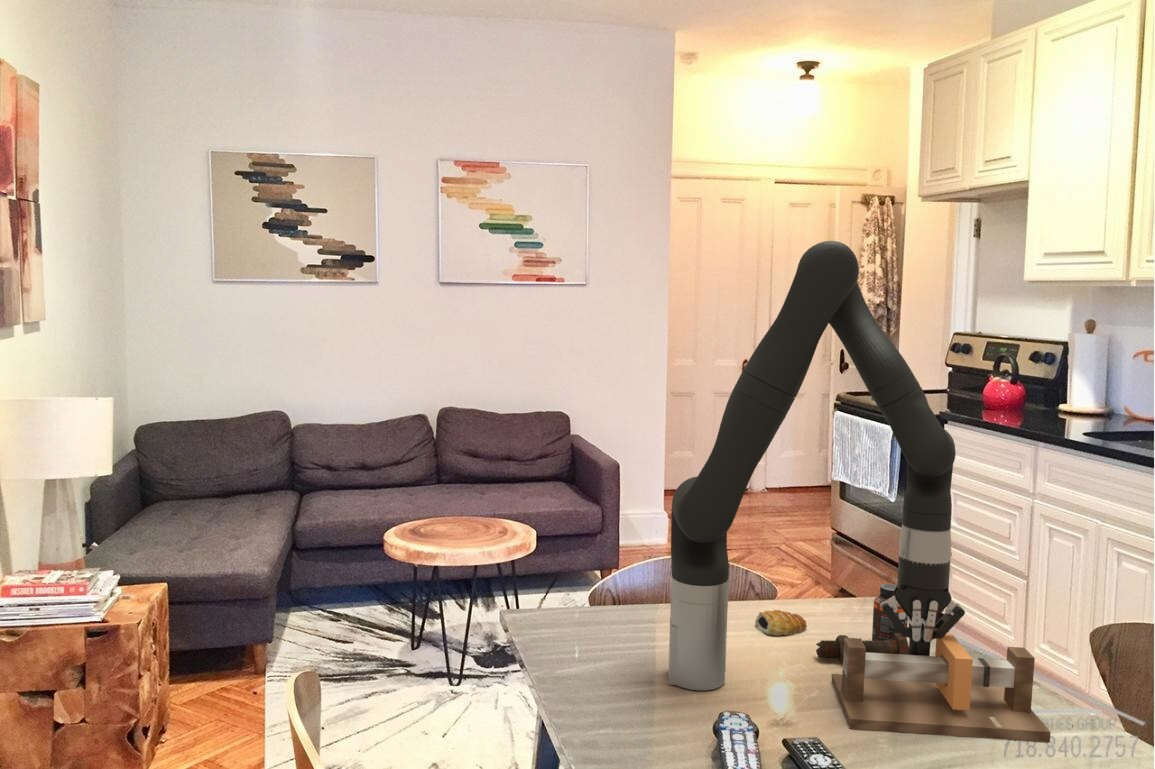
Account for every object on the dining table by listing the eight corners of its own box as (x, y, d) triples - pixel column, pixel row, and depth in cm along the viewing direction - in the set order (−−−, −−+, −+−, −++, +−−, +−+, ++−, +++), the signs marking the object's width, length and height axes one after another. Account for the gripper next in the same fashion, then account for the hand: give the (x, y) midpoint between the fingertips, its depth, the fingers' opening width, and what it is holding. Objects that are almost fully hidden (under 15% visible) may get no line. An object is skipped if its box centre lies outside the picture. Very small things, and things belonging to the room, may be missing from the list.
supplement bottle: (910, 654, 162) (914, 592, 161) (877, 653, 162) (880, 591, 161) (899, 641, 168) (903, 581, 167) (867, 640, 168) (870, 581, 167)
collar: (952, 709, 135) (955, 658, 134) (933, 680, 145) (936, 633, 144) (969, 710, 135) (972, 659, 134) (949, 681, 144) (952, 634, 144)
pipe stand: (849, 728, 134) (853, 663, 133) (831, 682, 150) (834, 623, 148) (1049, 741, 131) (1054, 674, 130) (1009, 693, 147) (1013, 633, 146)
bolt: (816, 668, 160) (903, 669, 159) (821, 665, 155) (911, 665, 154) (813, 634, 162) (899, 635, 161) (818, 630, 158) (907, 630, 157)
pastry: (794, 622, 178) (795, 603, 177) (814, 634, 171) (815, 615, 171) (752, 626, 175) (752, 607, 174) (770, 639, 168) (771, 619, 168)
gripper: (961, 549, 144) (954, 655, 146) (875, 546, 146) (870, 650, 148) (976, 563, 137) (969, 674, 139) (886, 559, 138) (880, 669, 140)
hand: (918, 662), depth 143 cm, fingers closed
